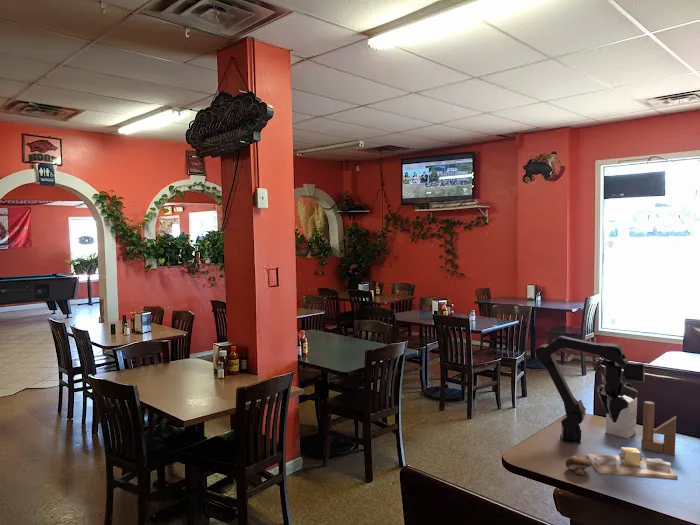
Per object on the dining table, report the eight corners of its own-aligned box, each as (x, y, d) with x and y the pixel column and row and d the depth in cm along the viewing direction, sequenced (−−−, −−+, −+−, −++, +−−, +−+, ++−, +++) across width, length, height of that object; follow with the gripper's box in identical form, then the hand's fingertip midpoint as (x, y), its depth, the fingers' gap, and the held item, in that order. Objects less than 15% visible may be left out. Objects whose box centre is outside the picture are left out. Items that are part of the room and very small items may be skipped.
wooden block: (674, 456, 189) (676, 408, 188) (641, 449, 195) (642, 402, 194) (674, 452, 192) (676, 405, 191) (642, 445, 198) (643, 400, 197)
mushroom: (589, 471, 170) (584, 452, 174) (564, 475, 174) (560, 456, 178) (596, 475, 175) (591, 456, 179) (572, 478, 179) (568, 460, 183)
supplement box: (604, 432, 211) (605, 396, 210) (613, 426, 217) (614, 392, 216) (628, 439, 204) (629, 402, 203) (636, 433, 211) (637, 397, 210)
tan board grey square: (597, 472, 176) (597, 463, 176) (587, 456, 189) (587, 447, 189) (677, 478, 172) (677, 469, 172) (661, 461, 185) (661, 452, 185)
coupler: (638, 462, 182) (638, 448, 182) (642, 467, 178) (643, 453, 178) (618, 460, 183) (618, 446, 183) (622, 465, 179) (622, 451, 179)
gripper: (644, 386, 183) (642, 429, 185) (628, 372, 202) (626, 411, 203) (610, 384, 186) (608, 426, 187) (597, 370, 204) (596, 408, 205)
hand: (610, 417), depth 195 cm, fingers open, 9 cm apart
